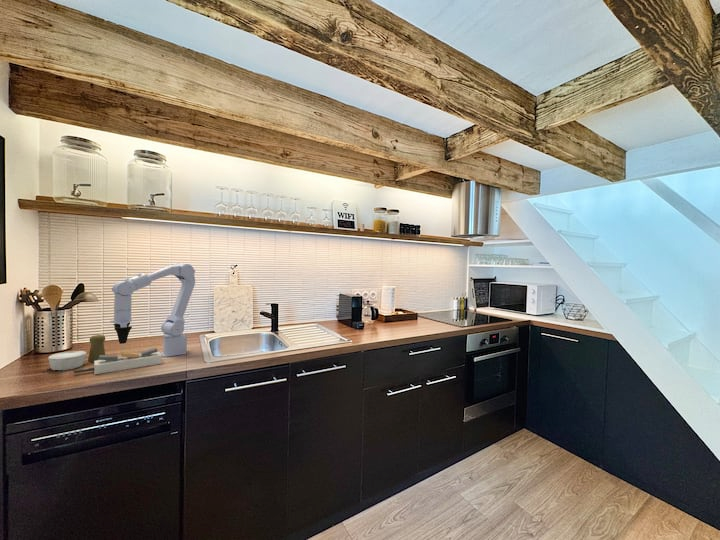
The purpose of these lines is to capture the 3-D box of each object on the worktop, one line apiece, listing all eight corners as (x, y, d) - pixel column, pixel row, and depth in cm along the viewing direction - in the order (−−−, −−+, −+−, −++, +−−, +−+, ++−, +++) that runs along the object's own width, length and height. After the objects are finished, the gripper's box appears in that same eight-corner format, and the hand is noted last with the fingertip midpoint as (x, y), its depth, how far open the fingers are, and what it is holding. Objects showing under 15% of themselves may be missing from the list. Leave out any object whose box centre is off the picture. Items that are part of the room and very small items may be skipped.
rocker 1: (116, 358, 122) (117, 355, 122) (116, 360, 120) (117, 357, 120) (98, 358, 118) (99, 355, 119) (99, 360, 116) (100, 356, 116)
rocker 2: (156, 350, 132) (156, 347, 131) (157, 351, 129) (157, 349, 129) (141, 354, 128) (140, 352, 128) (142, 356, 126) (141, 354, 125)
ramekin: (83, 360, 129) (84, 348, 128) (88, 367, 121) (88, 354, 121) (46, 367, 120) (46, 354, 120) (49, 374, 113) (49, 360, 113)
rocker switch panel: (159, 359, 134) (159, 350, 134) (161, 363, 129) (162, 353, 129) (74, 372, 115) (74, 361, 115) (73, 377, 110) (73, 366, 110)
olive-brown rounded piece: (104, 357, 134) (105, 333, 134) (107, 360, 130) (108, 335, 130) (86, 360, 129) (87, 335, 129) (88, 363, 125) (89, 337, 125)
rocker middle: (137, 355, 127) (138, 352, 127) (138, 357, 125) (139, 354, 125) (121, 355, 123) (122, 352, 123) (121, 356, 121) (122, 353, 121)
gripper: (109, 307, 127) (109, 339, 128) (111, 312, 117) (110, 346, 117) (130, 306, 132) (129, 336, 132) (133, 311, 121) (132, 344, 122)
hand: (122, 341), depth 125 cm, fingers open, 7 cm apart
